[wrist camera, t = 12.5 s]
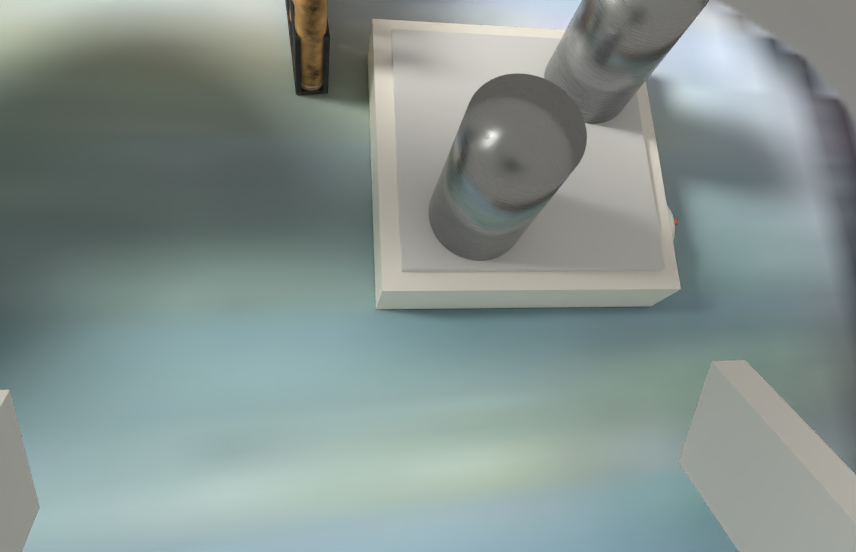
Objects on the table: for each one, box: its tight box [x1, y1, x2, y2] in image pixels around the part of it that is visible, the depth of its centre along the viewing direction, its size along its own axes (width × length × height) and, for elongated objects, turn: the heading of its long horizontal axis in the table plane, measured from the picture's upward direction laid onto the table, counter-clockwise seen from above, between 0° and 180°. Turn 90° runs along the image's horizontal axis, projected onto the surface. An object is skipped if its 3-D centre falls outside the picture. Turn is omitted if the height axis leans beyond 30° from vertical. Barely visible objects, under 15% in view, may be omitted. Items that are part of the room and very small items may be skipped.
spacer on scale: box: [544, 0, 709, 124], centre depth 36 cm, size 5×5×9 cm
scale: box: [368, 19, 681, 309], centre depth 40 cm, size 17×16×4 cm
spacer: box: [429, 73, 587, 261], centre depth 32 cm, size 5×5×9 cm
